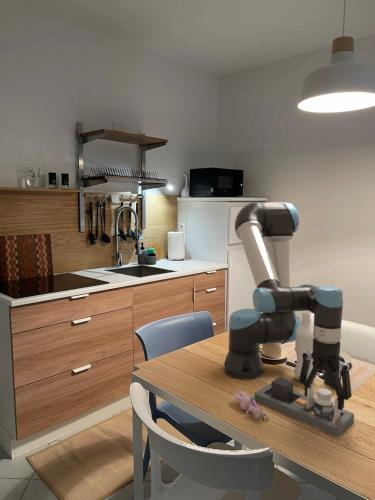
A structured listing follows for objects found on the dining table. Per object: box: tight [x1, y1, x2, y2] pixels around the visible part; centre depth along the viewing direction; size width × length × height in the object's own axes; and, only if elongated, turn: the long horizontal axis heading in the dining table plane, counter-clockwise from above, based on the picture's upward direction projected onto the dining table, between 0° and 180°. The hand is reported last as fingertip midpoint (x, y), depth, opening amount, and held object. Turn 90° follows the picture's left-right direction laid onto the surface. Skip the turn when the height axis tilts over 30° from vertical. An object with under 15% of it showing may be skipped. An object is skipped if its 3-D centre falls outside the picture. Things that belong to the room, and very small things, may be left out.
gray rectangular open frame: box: [253, 376, 355, 438], centre depth 119 cm, size 28×11×7 cm, turn 45°
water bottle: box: [293, 311, 314, 381], centre depth 139 cm, size 7×7×25 cm
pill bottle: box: [313, 387, 334, 422], centre depth 114 cm, size 5×5×9 cm
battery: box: [323, 355, 346, 390], centre depth 135 cm, size 7×4×11 cm, turn 20°
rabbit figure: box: [232, 390, 269, 424], centre depth 119 cm, size 6×6×15 cm
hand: (323, 412), depth 114 cm, fingers open, 8 cm apart
